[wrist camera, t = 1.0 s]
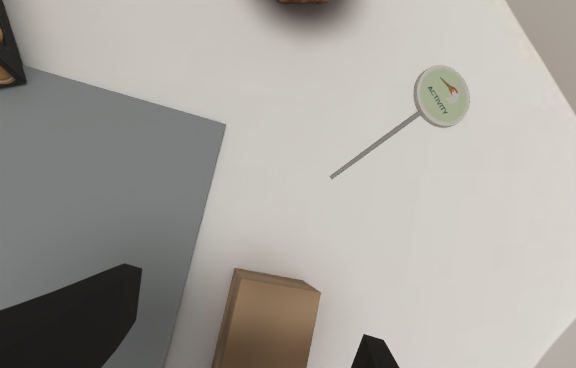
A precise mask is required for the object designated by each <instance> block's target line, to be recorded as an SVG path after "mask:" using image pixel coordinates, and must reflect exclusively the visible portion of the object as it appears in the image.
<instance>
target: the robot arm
mask: <svg viewBox="0 0 576 368" xmlns="http://www.w3.org/2000/svg"><path fill="white" fill-rule="evenodd" d="M141 277H142V268H139V267H136V266H132V265H129V264H125V263H124V264H121V265H118V266H116V267H113V268H110V269H108V270H105V271H103V272H100V273H98V274H96V275H93V276H91V277H88V278H86V279H83V280H81V281H78V282H76V283H73V284H71V285H68V286H66V287H63V288H61V289H58V290H56V291H53V292H50V293H47V294H45V295H42V296H39V297H36V298H33V299H31V300H28V301H25V302H22V303H20V304H17V305H14V306H11V307H8V308H5V309H2V310H0V368H101V367H102V366H103V365H104V364H105V363H106V362H107V360H108V359H109V358H110V357H111V356H112V354H113V353H114V352H115V351H116V350H117V348H118V347H119V345H120V344H121V342H122V341H123V340H124V338H125V337H126V335H127V334H128V332H129V331H130V329H131V328H132V326H133V325H134V323H135V322H136V318H137V309H138V301H139V293H140V285H141ZM351 368H399V366H398V364H397V363H396V361H395V359H394V357H393V356H392V354H391V352H390V350H389V349H388V347H387V345H386V343H385V342H384V340H382V339H379V338H375V337H372V336H369V335H365V334H364V335H363V338H362V340H361V343H360V345H359V348H358V351H357V353H356V356H355V359H354V361H353V364H352V366H351Z"/></svg>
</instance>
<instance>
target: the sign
mask: <svg viewBox="0 0 576 368" xmlns="http://www.w3.org/2000/svg"><path fill="white" fill-rule="evenodd" d="M414 101H415V105H416V107H417V110H418V112H416V113H415V114H414V115H412V116H411V117H409V118H408V119H407V120H405V121H404V122H403V123H401V124H400V125H398V126H397V127H396V128H394V129H393V130H392V131H390V132H389V133H388V134H386V135H385V136H383V137H382V138H381V139H379V140H378V141H377V142H375V143H374V144H373V145H371V146H370V147H369V148H367V149H366V150H364V151H363V152H362V153H360V154H359V155H358V156H356V157H355V158H354V159H352V160H351V161H350V162H348V163H347V164H346V165H344V166H343V167H342V168H340V169H339V170H338V171H336V172H335V173H334V174H332V175H331V176H330V177H331V179H333V178H334V177H336V176H337V175H339V174H340V173H341V172H343V171H344V170H346V169H347V168H348V167H350V166H351V165H352V164H354V163H355V162H357V161H358V160H359V159H361V158H362V157H364V156H365V155H366V154H368V153H369V152H370V151H372V150H373V149H375V148H376V147H377V146H379V145H380V144H381V143H383V142H384V141H386V140H387V139H388V138H390V137H391V136H392V135H394V134H395V133H397V132H398V131H399V130H401V129H402V128H403V127H405V126H406V125H407V124H409V123H410V122H412V121H413V120H414V119H416V118H417V117H418V116H420V115H421V116H422V117H423V118H424V119H425V120H426V121H427V122H429V123H430V124H432V125H434V126H437V127H449V126H452V125H455V124H457V123H458V122H460V121H461V120H462V119H463V118H464V117H465V115H466V113H467V111H468V108H469V103H470V96H469V90H468V87H467V85H466V83H465V81H464V79H463V78H462V77H461V75H460V74H459V73H458V72H456V71H455V70H454V69H452V68H450V67H447V66H442V65H438V66H433V67H431V68H429V69H427V70H426V71H424V72H423V73H422V74H421V75H420V76H419V77H418V79H417V80H416V83H415V86H414Z"/></svg>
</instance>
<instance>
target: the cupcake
mask: <svg viewBox="0 0 576 368" xmlns="http://www.w3.org/2000/svg"><path fill="white" fill-rule="evenodd" d="M279 1H280V2H282V3H305V2H317V3H326V2H329V1H331V0H279Z"/></svg>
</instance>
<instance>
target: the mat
mask: <svg viewBox="0 0 576 368" xmlns="http://www.w3.org/2000/svg"><path fill="white" fill-rule="evenodd" d="M22 67H23V70H24V73H25V76H26V80H27V82H26V83H25V84H21V85H16V86H10V87H5V88H0V310H2V309H5V308H8V307H11V306H14V305H17V304H20V303H22V302H25V301H28V300H31V299H33V298H36V297H39V296H42V295H45V294H47V293H50V292H53V291H56V290H58V289H61V288H63V287H66V286H68V285H71V284H73V283H76V282H78V281H81V280H83V279H86V278H88V277H91V276H93V275H96V274H98V273H100V272H103V271H105V270H108V269H110V268H113V267H116V266H118V265H121V264H124V263H125V264H129V265H132V266H136V267H139V268H142V277H141V285H140V293H139V301H138V309H137V318H136V322H135V323H134V325H133V326H132V328H131V329H130V331H129V332H128V334H127V335H126V337H125V338H124V340H123V341H122V342H121V344H120V345H119V347H118V348H117V350H116V351H115V352H114V353H113V354H112V356H111V357H110V358H109V359H108V360H107V362H106V363H105V364H104V365H103V366H102V367H101V368H163V366H164V362H165V359H166V355H167V351H168V347H169V343H170V339H171V335H172V331H173V327H174V324H175V320H176V316H177V312H178V308H179V304H180V300H181V296H182V292H183V289H184V285H185V281H186V277H187V273H188V269H189V265H190V261H191V257H192V254H193V250H194V246H195V242H196V238H197V234H198V230H199V226H200V222H201V219H202V215H203V211H204V207H205V203H206V199H207V195H208V191H209V187H210V184H211V180H212V176H213V172H214V168H215V164H216V160H217V156H218V152H219V149H220V145H221V141H222V137H223V133H224V129H225V125H226V124H223V123H220V122H217V121H213V120H210V119H206V118H203V117H199V116H196V115H192V114H189V113H185V112H182V111H179V110H175V109H172V108H168V107H165V106H161V105H158V104H154V103H151V102H147V101H144V100H140V99H137V98H134V97H130V96H127V95H123V94H120V93H116V92H113V91H109V90H106V89H102V88H99V87H96V86H92V85H89V84H85V83H82V82H78V81H75V80H71V79H68V78H64V77H61V76H57V75H54V74H51V73H47V72H44V71H40V70H37V69H33V68H30V67H26V66H23V65H22Z"/></svg>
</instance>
